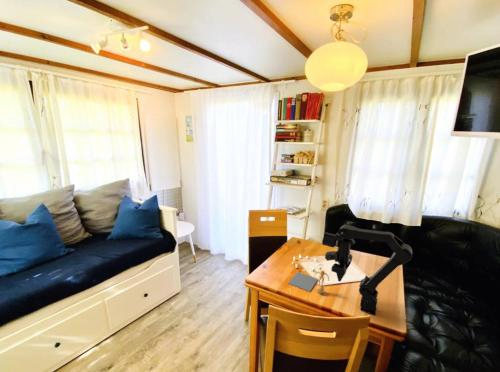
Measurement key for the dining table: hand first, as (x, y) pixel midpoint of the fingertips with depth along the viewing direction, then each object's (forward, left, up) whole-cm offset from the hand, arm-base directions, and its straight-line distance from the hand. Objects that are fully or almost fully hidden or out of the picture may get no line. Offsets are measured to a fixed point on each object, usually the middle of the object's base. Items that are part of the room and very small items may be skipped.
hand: (341, 277), depth 120 cm
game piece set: (+27, -23, -13) cm, 38 cm away
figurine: (+10, 0, -12) cm, 16 cm away
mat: (+21, -3, -12) cm, 24 cm away
